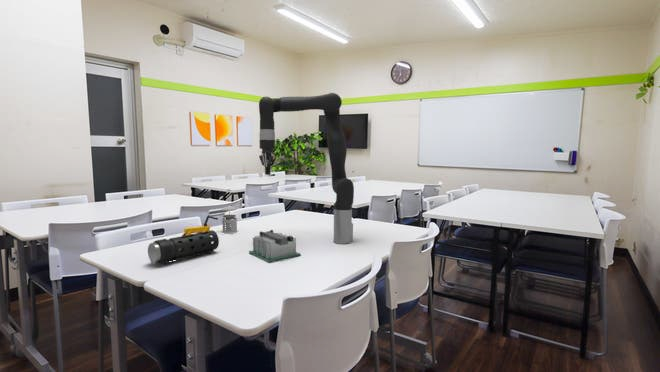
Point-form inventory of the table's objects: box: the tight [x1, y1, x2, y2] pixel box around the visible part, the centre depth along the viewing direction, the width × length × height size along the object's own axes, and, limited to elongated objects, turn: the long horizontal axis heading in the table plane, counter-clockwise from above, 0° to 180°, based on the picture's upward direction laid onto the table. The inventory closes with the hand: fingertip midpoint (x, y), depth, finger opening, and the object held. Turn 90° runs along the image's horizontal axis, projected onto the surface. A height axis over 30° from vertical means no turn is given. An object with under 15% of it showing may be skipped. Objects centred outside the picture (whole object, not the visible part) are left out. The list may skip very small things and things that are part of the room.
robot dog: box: [181, 215, 219, 236], centre depth 179 cm, size 6×18×13 cm, turn 127°
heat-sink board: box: [248, 229, 302, 264], centre depth 159 cm, size 16×18×10 cm
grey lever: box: [262, 230, 288, 246], centre depth 159 cm, size 4×16×3 cm, turn 40°
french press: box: [219, 188, 239, 235], centre depth 201 cm, size 10×12×25 cm
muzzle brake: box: [147, 229, 220, 265], centre depth 153 cm, size 10×28×10 cm, turn 141°
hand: (267, 174), depth 174 cm, fingers closed
